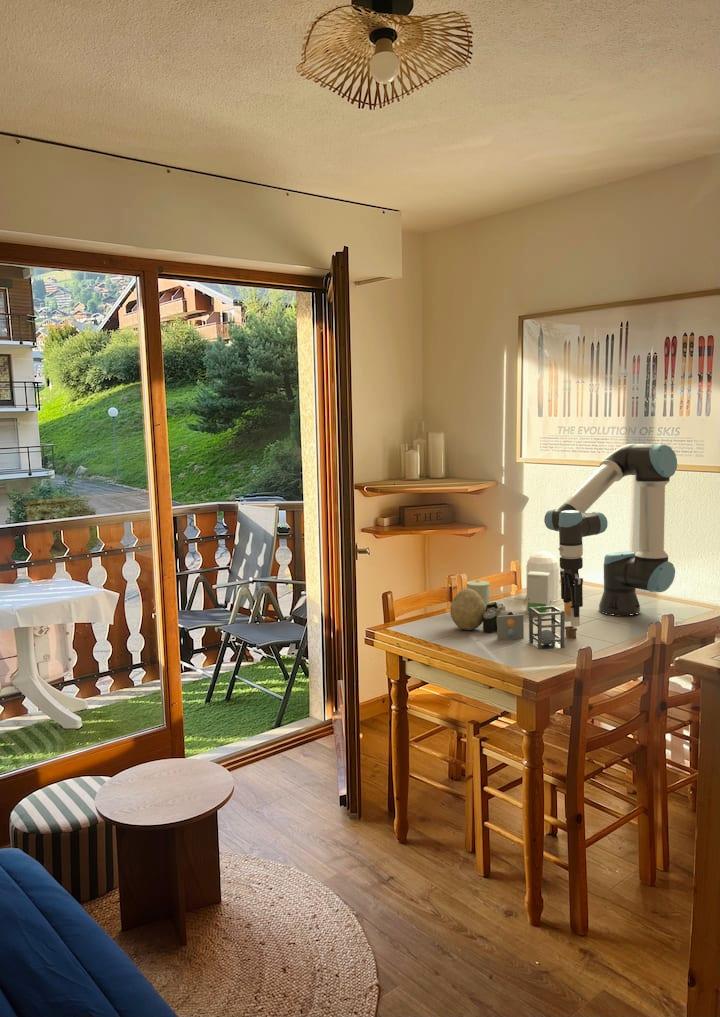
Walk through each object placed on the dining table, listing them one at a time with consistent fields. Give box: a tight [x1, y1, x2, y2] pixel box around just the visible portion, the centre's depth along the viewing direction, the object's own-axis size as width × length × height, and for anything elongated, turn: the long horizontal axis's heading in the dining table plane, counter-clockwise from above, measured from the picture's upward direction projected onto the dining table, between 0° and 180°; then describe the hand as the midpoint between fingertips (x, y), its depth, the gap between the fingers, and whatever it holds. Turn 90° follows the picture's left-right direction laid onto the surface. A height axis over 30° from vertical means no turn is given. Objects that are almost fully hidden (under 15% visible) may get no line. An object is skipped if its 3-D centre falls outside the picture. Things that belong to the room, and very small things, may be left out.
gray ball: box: [542, 629, 554, 645], centre depth 258 cm, size 5×5×5 cm
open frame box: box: [528, 605, 566, 651], centre depth 258 cm, size 9×9×13 cm
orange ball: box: [563, 602, 572, 617], centre depth 265 cm, size 5×5×5 cm
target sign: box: [496, 613, 525, 641], centre depth 267 cm, size 9×3×9 cm, turn 98°
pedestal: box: [565, 625, 578, 640], centre depth 266 cm, size 5×5×4 cm
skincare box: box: [526, 571, 551, 615], centre depth 303 cm, size 8×7×16 cm
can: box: [466, 580, 491, 607], centre depth 307 cm, size 9×9×12 cm
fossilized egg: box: [449, 588, 486, 631], centre depth 282 cm, size 13×13×15 cm
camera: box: [482, 601, 514, 634], centre depth 279 cm, size 16×9×10 cm, turn 146°
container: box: [525, 550, 560, 601], centre depth 325 cm, size 13×13×20 cm
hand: (572, 623), depth 266 cm, fingers closed on orange ball, 5 cm apart
